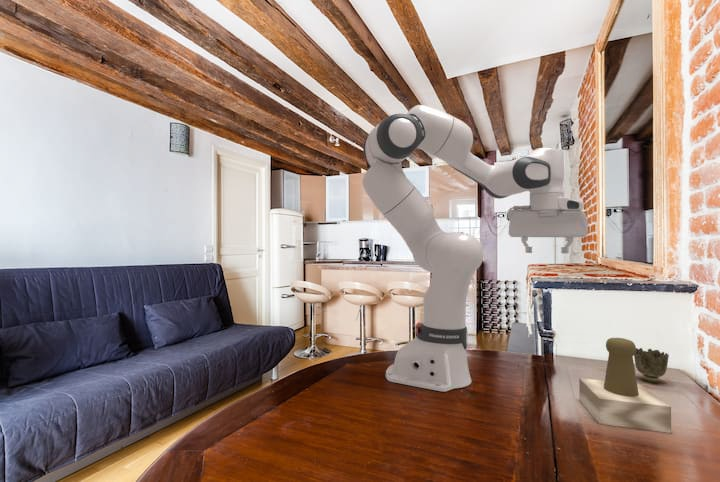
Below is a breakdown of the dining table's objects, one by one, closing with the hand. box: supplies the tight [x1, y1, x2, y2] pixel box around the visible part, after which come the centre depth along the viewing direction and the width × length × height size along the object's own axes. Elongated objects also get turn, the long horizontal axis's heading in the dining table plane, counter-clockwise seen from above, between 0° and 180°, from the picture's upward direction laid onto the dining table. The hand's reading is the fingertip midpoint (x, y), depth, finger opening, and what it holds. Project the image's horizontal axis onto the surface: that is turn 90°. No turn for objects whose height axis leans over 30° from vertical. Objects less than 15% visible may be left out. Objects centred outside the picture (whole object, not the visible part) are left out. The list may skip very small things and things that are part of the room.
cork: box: [604, 337, 639, 397], centre depth 75 cm, size 6×6×11 cm
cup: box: [633, 347, 670, 384], centre depth 95 cm, size 8×7×8 cm
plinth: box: [578, 377, 672, 434], centre depth 75 cm, size 12×12×5 cm
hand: (546, 253), depth 101 cm, fingers open, 8 cm apart
